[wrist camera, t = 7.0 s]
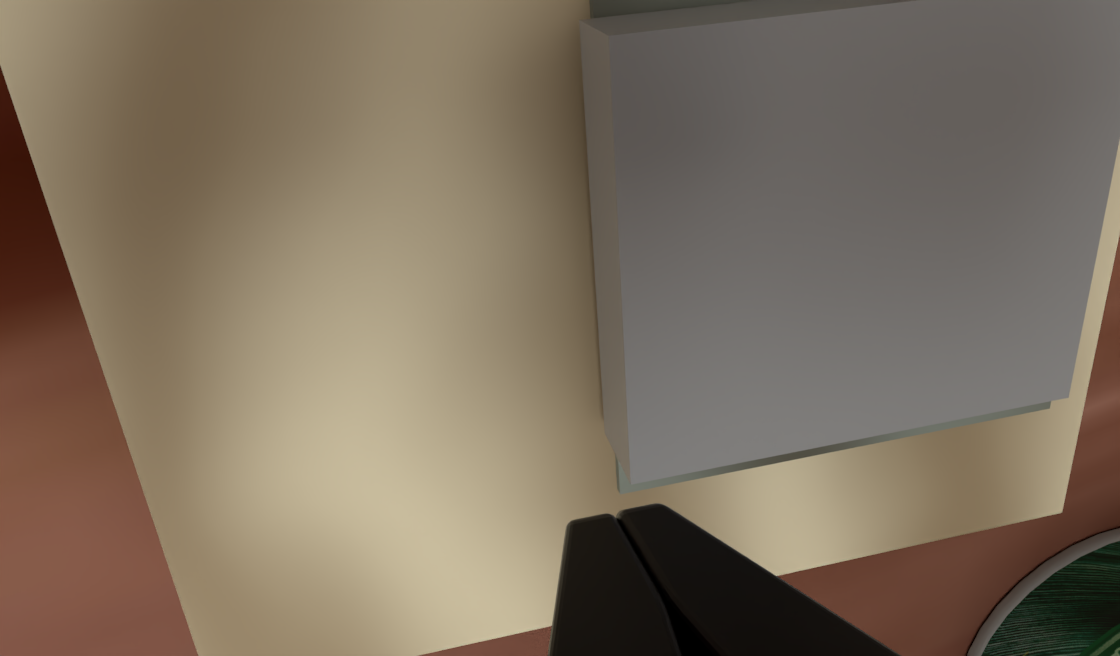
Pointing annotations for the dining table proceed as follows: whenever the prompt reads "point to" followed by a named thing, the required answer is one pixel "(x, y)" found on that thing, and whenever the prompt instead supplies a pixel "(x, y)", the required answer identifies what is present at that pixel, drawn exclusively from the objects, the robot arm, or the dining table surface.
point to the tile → (840, 216)
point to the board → (407, 321)
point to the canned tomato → (1061, 606)
